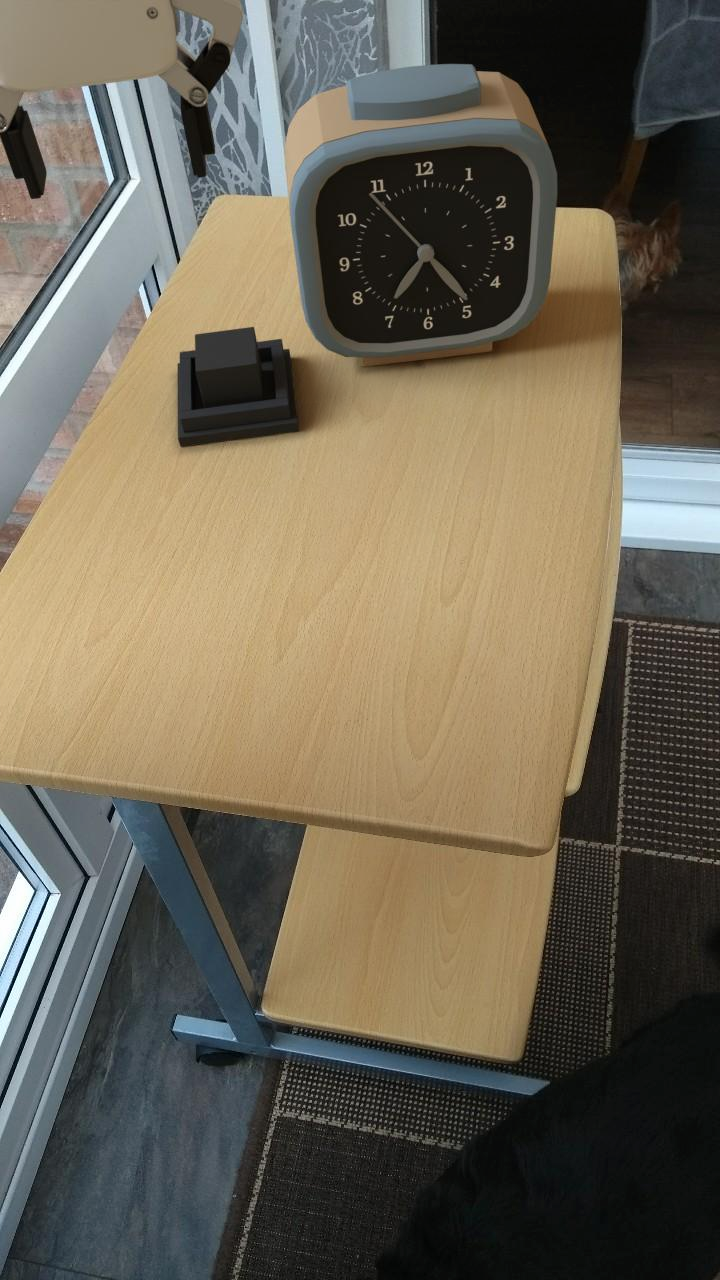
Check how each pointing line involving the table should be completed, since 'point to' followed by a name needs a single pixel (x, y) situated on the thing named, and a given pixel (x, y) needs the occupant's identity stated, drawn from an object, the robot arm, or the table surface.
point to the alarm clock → (420, 212)
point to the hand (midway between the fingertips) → (120, 176)
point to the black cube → (228, 367)
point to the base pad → (238, 418)
